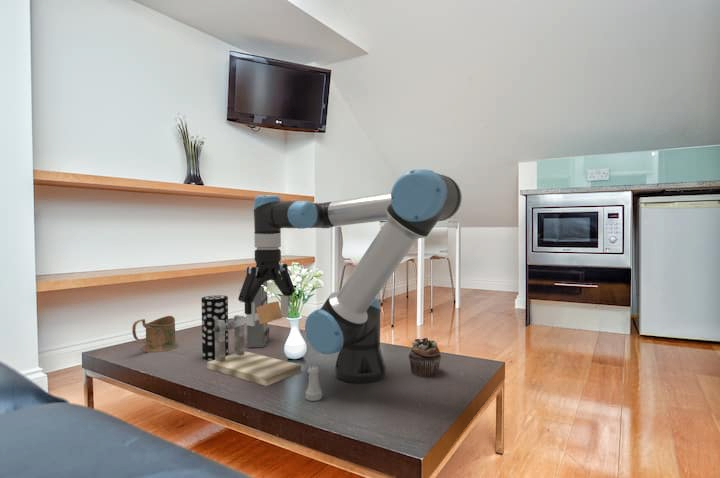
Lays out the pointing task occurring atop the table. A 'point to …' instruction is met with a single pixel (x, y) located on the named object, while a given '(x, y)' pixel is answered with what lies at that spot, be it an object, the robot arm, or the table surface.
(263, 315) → the lever
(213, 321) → the white-spotted black cylinder
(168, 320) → the mug
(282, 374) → the press base
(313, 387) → the rook chess piece
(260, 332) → the tall grey upright block
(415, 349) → the cupcake
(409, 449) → the table surface
